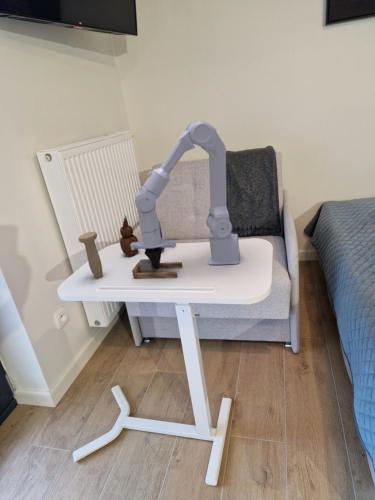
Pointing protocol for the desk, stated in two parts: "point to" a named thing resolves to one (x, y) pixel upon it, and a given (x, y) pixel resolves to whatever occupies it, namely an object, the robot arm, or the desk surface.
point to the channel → (139, 275)
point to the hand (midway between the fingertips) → (157, 268)
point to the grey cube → (146, 266)
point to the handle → (92, 253)
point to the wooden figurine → (127, 238)
